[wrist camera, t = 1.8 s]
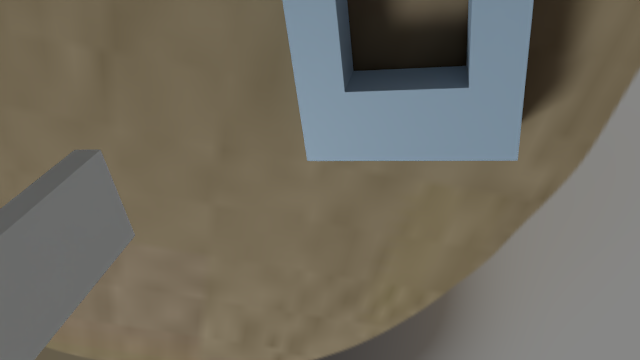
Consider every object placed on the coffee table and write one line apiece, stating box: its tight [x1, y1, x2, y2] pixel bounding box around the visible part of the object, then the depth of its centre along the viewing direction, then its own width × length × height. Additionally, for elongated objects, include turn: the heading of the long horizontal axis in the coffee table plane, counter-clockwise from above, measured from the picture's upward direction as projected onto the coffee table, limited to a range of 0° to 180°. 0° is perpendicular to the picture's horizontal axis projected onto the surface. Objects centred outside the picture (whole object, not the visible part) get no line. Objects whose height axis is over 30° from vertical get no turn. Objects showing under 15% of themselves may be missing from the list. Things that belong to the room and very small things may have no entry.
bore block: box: [283, 0, 534, 161], centre depth 24 cm, size 14×11×3 cm
